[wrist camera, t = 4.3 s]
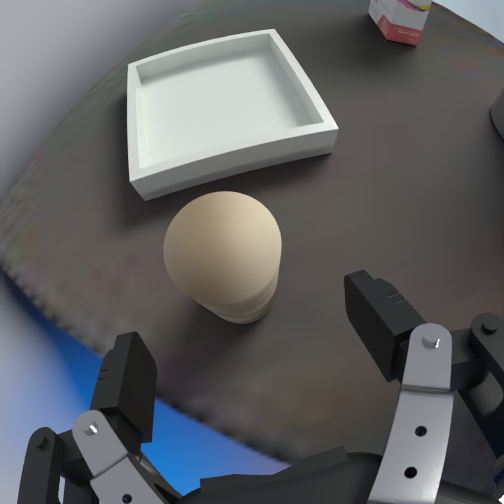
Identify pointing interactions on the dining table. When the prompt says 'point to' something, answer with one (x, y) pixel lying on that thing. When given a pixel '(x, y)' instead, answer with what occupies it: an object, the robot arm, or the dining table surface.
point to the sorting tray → (220, 113)
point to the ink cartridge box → (400, 18)
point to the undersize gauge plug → (225, 255)
